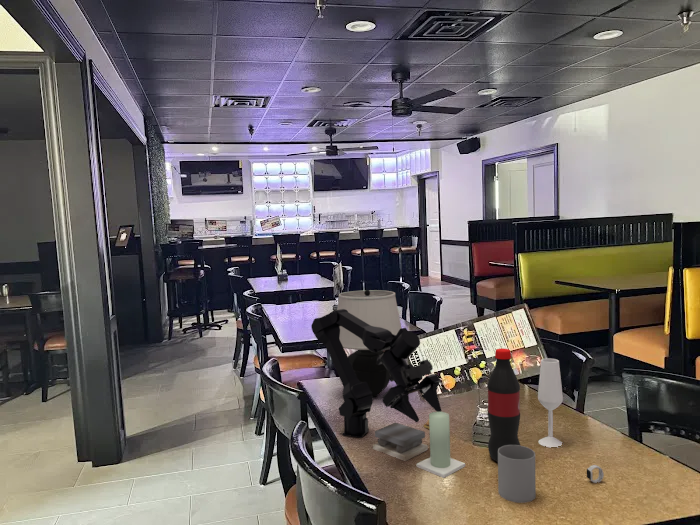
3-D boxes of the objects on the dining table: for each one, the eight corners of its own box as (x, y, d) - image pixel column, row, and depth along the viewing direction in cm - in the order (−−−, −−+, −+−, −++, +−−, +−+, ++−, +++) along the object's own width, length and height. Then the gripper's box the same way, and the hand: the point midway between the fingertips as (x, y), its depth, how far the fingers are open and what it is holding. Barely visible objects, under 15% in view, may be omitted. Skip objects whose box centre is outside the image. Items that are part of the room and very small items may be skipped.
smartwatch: (600, 479, 131) (600, 463, 131) (605, 483, 129) (605, 467, 129) (586, 480, 131) (585, 464, 131) (591, 484, 129) (590, 468, 129)
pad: (416, 466, 141) (416, 463, 141) (438, 456, 147) (438, 453, 147) (443, 477, 134) (443, 474, 134) (465, 466, 140) (465, 463, 140)
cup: (493, 486, 130) (492, 445, 129) (526, 483, 130) (526, 443, 130) (506, 504, 121) (506, 461, 120) (541, 501, 122) (541, 458, 121)
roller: (430, 467, 139) (429, 418, 138) (430, 459, 144) (428, 411, 143) (451, 468, 138) (449, 418, 137) (450, 459, 143) (448, 411, 142)
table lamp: (319, 396, 203) (315, 291, 200) (370, 380, 221) (367, 284, 218) (369, 412, 183) (366, 296, 180) (420, 394, 201) (418, 288, 199)
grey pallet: (372, 448, 153) (372, 431, 153) (395, 438, 160) (395, 421, 160) (405, 461, 145) (404, 442, 144) (427, 449, 152) (427, 431, 151)
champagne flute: (566, 442, 154) (566, 359, 152) (557, 449, 149) (557, 364, 147) (544, 436, 158) (543, 356, 157) (534, 443, 153) (533, 361, 152)
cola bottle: (521, 454, 147) (520, 346, 145) (520, 467, 139) (519, 353, 137) (489, 450, 150) (487, 344, 148) (486, 463, 142) (485, 352, 140)
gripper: (389, 358, 139) (422, 409, 132) (434, 345, 152) (467, 392, 144) (368, 381, 146) (399, 432, 138) (414, 368, 158) (444, 413, 151)
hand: (429, 416), depth 143 cm, fingers open, 9 cm apart
